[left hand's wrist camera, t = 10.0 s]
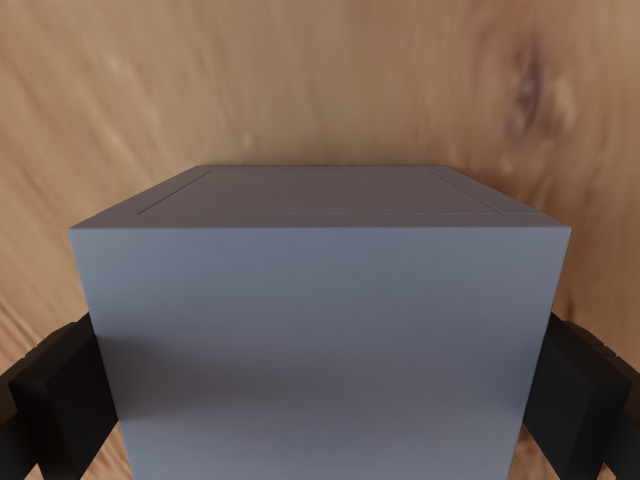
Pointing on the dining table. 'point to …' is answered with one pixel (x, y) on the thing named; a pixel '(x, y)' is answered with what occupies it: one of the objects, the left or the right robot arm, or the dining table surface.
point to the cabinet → (320, 321)
